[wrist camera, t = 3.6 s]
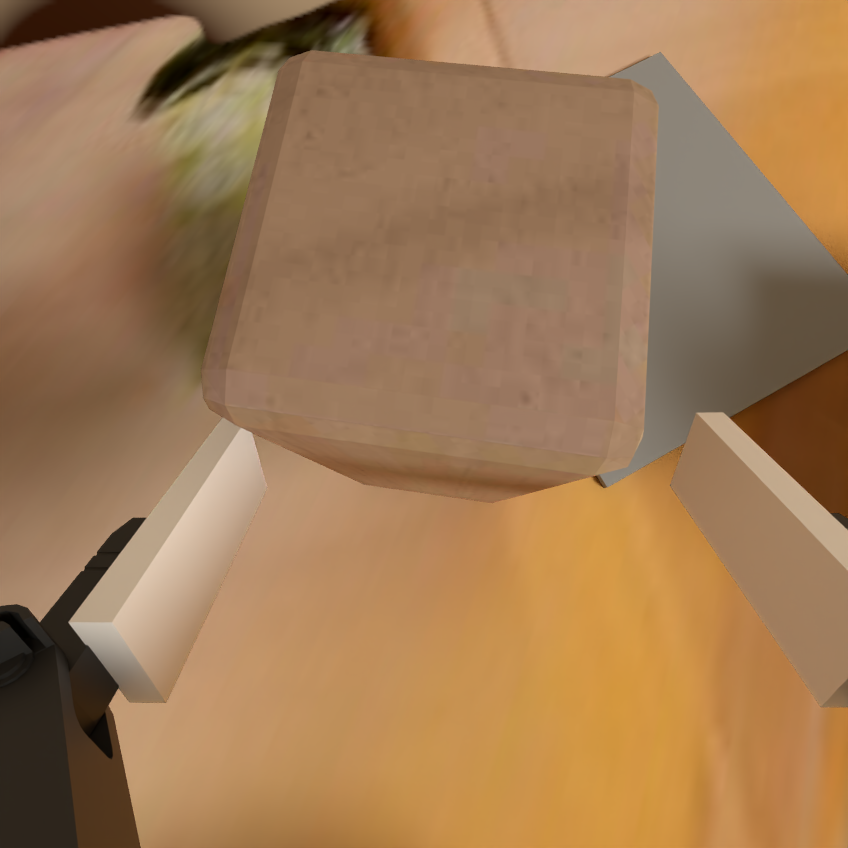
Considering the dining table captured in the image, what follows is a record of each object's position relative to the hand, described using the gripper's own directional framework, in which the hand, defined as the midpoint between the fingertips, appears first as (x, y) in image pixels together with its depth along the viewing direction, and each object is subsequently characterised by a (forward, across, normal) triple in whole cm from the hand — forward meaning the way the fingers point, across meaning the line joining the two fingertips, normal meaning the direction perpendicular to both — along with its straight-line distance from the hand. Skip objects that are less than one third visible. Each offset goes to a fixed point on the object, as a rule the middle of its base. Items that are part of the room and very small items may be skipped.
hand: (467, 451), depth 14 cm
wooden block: (+14, -1, -8) cm, 16 cm away
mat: (+22, +13, +1) cm, 26 cm away
